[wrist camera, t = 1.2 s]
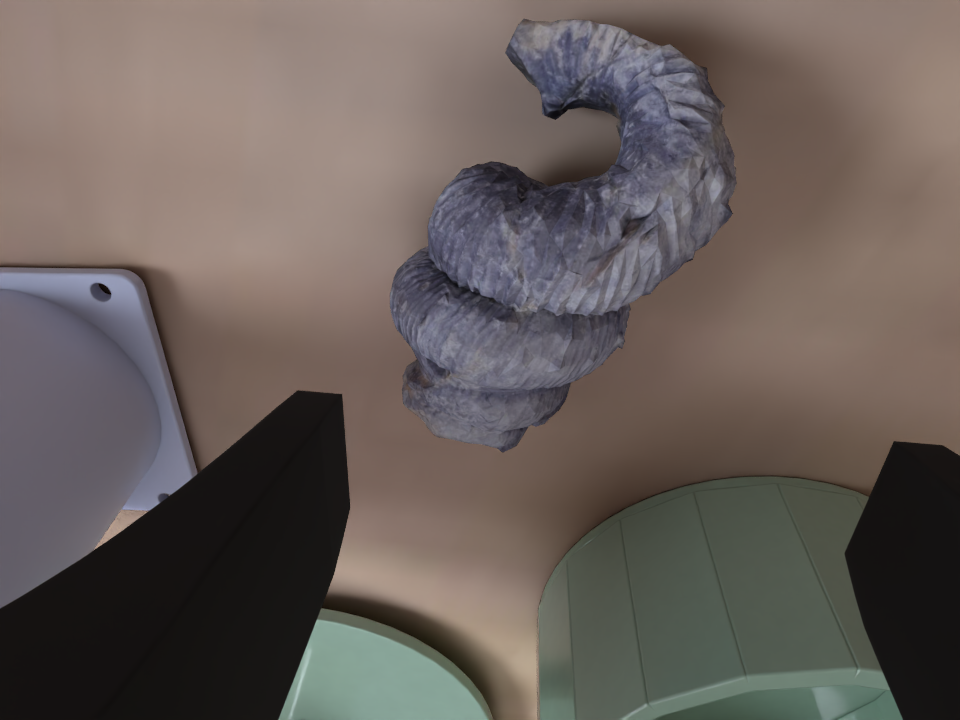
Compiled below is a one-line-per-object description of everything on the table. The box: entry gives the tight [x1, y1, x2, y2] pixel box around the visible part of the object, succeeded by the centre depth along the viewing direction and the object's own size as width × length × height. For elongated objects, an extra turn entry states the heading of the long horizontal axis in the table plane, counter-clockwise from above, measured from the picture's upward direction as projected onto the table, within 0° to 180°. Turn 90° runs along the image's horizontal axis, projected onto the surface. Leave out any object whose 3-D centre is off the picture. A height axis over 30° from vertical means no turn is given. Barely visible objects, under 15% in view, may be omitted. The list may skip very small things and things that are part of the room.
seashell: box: [390, 19, 737, 452], centre depth 15 cm, size 5×5×10 cm
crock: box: [536, 476, 903, 720], centre depth 22 cm, size 13×13×6 cm
